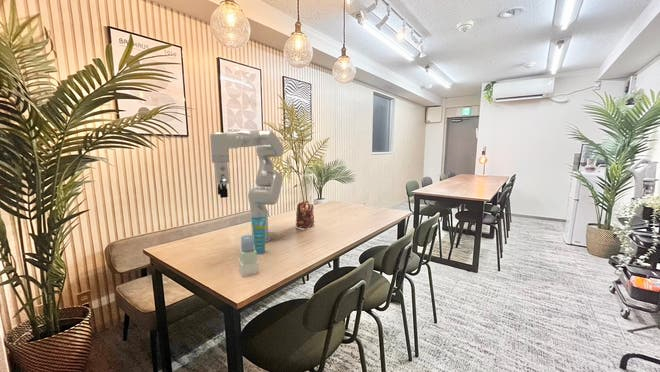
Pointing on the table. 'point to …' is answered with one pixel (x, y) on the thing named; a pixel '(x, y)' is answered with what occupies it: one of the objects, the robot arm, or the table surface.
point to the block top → (248, 257)
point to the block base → (248, 268)
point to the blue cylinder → (247, 243)
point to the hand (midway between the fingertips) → (222, 195)
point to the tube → (259, 233)
